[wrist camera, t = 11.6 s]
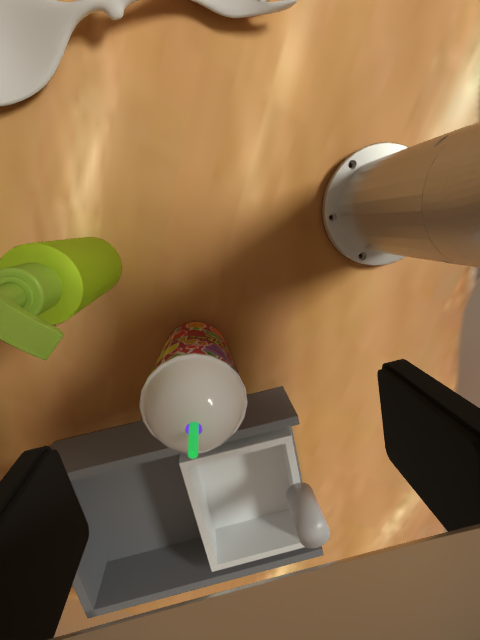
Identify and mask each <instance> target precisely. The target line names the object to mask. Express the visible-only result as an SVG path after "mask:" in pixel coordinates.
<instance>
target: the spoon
mask: <svg viewBox="0 0 480 640" xmlns="http://www.w3.org/2000/svg"><path fill="white" fill-rule="evenodd" d="M136 1H138V0H78V1H74V2H61V1H57V0H0V106H6V105H11V104H14V103H17V102H20V101H22V100H25V99H27V98H29V97H31V96H32V95H34V94H35V93H37V92H38V91H40V90H41V89H42V88H43V87H44V86H45V85H46V84H47V83H48V82H49V80H50V79H51V78H52V76H53V74H54V73H55V71H56V69H57V67H58V65H59V63H60V61H61V58H62V56H63V54H64V51H65V49H66V46H67V44H68V41H69V39H70V37H71V34H72V32H73V30H74V29H75V27H76V26H77V24H78V23H79V22H80V21H81V20H82V19H84V18H85V17H86V16H88V15H90V14H92V13H94V12H98V11H103V12H105V13H106V14H107V15H108V16H109V17H110V18H111V19H112V20H119V19H121V18H122V17H123V14H124V10H125V8H126V7H127V6H129V5H130V4H132V3H134V2H136ZM191 1H194V2H196V3H198V4H200V5H202V6H204V7H206V8H208V9H210V10H211V11H213V12H215V13H217V14H219V15H222V16H225V17H229V18H245V17H252V16H259V15H265V14H271V13H275V12H280V11H283V10H286V9H288V8H290V7H292V6H293V5H294V4H295V3H296V2H297V0H283V1H277V2H267V1H269V0H191Z"/></svg>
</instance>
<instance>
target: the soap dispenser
mask: <svg viewBox="0 0 480 640" xmlns="http://www.w3.org/2000/svg"><path fill="white" fill-rule="evenodd" d="M121 269H122V266H121V260H120V257H119V255H118V253H117V251H116V250H115V249H114V248H113V247H112V246H111V245H110V244H109V243H108V242H106V241H104V240H102V239H99V238H95V237H84V238H74V239H65V240H56V241H47V242H37V243H28V244H23V245H19V246H17V247H15V248H13V249H11V250H9V251H8V252H7V253H6V254H5V255H4V256H3V257H2V258H1V259H0V339H1V340H3V341H4V342H6V343H8V344H10V345H12V346H14V347H16V348H18V349H20V350H22V351H24V352H27V353H29V354H31V355H33V356H36V357H38V358H40V359H43V360H47V358H48V357H49V356H50V354H51V353H52V351H53V350H54V349H55V347H56V346H57V344H58V343H59V341H60V340H61V339H62V337H63V333H62V332H61V330H60V329H59V328H57V327H55V326H53V325H56V324H59V323H62V322H64V321H66V320H67V319H69V318H70V317H71V316H73V315H74V314H76V313H77V312H78V311H80V310H81V309H83V308H84V307H85V306H87V305H88V304H90V303H91V302H92V301H94V300H95V299H97V298H98V297H99V296H101V295H102V294H104V293H105V292H106V291H108V290H109V289H111V288H112V287H113V286H114V285H115V284H116V283H117V281H118V280H119V278H120V275H121Z"/></svg>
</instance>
